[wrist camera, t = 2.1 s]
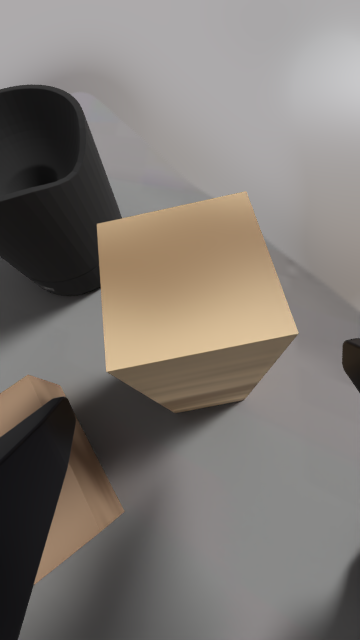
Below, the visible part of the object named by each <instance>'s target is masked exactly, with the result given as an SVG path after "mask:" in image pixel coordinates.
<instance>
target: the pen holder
mask: <svg viewBox="0 0 360 640" xmlns="http://www.w3.org/2000/svg"><path fill="white" fill-rule="evenodd" d="M117 219H122V217H121V214H120V211H119V208H118V205H117V203H116V200H115V197H114V194H113V192H112V189H111V186H110V183H109V181H108V178H107V175H106V173H105V170H104V167H103V164H102V162H101V159H100V156H99V153H98V151H97V148H96V145H95V142H94V140H93V137H92V134H91V132H90V129H89V126H88V123H87V121H86V118H85V115H84V113H83V110H82V108H81V106H80V104H79V103H78V101H77V100H76V99H75V98H74V97H73V96H71V95H70V94H69V93H67V92H65V91H63V90H61V89H58V88H55V87H51V86H45V85H20V86H14V87H9V88H4V89H1V90H0V256H1V257H2V258H3V259H5V260H6V261H7V262H8V263H10V264H11V265H12V266H13V267H15V268H16V269H17V270H19V271H20V272H21V273H23V274H24V275H26V276H27V277H28V278H29V279H31V280H32V281H34V282H35V283H36V284H38V285H39V286H40V287H42V288H43V289H45V290H47V291H49V292H52V293H55V294H59V295H78V294H83V293H86V292H89V291H92V290H94V289H96V288H98V287H100V286H101V282H100V267H99V252H98V237H97V224H99V223H103V222H108V221H113V220H117Z"/></svg>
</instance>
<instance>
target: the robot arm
mask: <svg viewBox="0 0 360 640" xmlns="http://www.w3.org/2000/svg"><path fill="white" fill-rule="evenodd" d="M342 365H343V368H344V370H345V372H346V374H347V375H348V376H349V378H350V379H351V381H352V382H353V384H354V385H355V387H356V388H357V390H358V391H359V392H360V338H355V339H350V340H346V341H345V342H344V343H343V353H342ZM75 425H76V417H75V414H74V412H73V410H72V407H71V405H70V403H69V400H68V399H67V398H66V397H64V396H63V397H57V398H53V399H51V400H50V401H48V402H47V403H46V404H44V405H43V406H42V407H40V408H39V409H38V410H36V411H35V412H34V413H32V414H31V415H30V416H28V417H27V418H25V419H24V420H23V421H21V422H20V423H19V424H17V425H16V426H15V427H13V428H12V429H11V430H9V431H8V432H7V433H5V434H4V435H3V436H1V437H0V640H18V637H19V633H20V630H21V626H22V623H23V620H24V616H25V613H26V609H27V606H28V602H29V599H30V596H31V592H32V589H33V585H34V582H35V578H36V575H37V572H38V568H39V565H40V561H41V558H42V554H43V551H44V548H45V544H46V541H47V537H48V534H49V530H50V527H51V524H52V520H53V517H54V513H55V510H56V506H57V503H58V499H59V496H60V493H61V489H62V486H63V482H64V479H65V475H66V472H67V468H68V463H69V458H70V453H71V447H72V442H73V436H74V431H75Z"/></svg>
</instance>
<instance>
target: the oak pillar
mask: <svg viewBox="0 0 360 640" xmlns="http://www.w3.org/2000/svg"><path fill="white" fill-rule="evenodd" d="M97 237H98V252H99V267H100V282H101V298H102V313H103V328H104V343H105V358H106V372H108V373H109V374H111V375H113V376H114V377H116V378H118V379H119V380H121V381H123V382H124V383H126V384H127V385H129V386H131V387H132V388H134V389H136V390H137V391H139V392H141V393H142V394H144V395H146V396H147V397H149V398H151V399H152V400H154V401H156V402H157V403H159V404H161V405H162V406H164V407H165V408H167V409H169V410H170V411H172V412H174V413H179V412H184V411H190V410H195V409H200V408H205V407H210V406H216V405H221V404H226V403H231V402H237V401H242V400H245V398H246V397H247V396H248V395H249V393H250V392H251V391H252V390H253V389H254V387H255V386H256V385H257V384H258V382H259V381H260V380H261V379H262V378H263V376H264V375H265V374H266V373H267V371H268V370H269V369H270V368H271V367H272V365H273V364H274V363H275V362H276V360H277V359H278V358H279V357H280V356H281V354H282V353H283V352H284V351H285V349H286V348H287V347H288V346H289V345H290V343H291V342H292V341H293V340H294V339H295V337H296V336H297V335H298V334H299V333H298V330H297V328H296V325H295V322H294V320H293V317H292V314H291V311H290V309H289V306H288V303H287V301H286V298H285V295H284V292H283V290H282V287H281V284H280V281H279V279H278V276H277V273H276V271H275V268H274V265H273V262H272V260H271V257H270V254H269V252H268V249H267V246H266V243H265V241H264V238H263V235H262V233H261V230H260V227H259V225H258V222H257V219H256V216H255V214H254V211H253V208H252V206H251V203H250V200H249V197H248V195H247V192H241V193H236V194H231V195H227V196H222V197H218V198H213V199H209V200H204V201H199V202H195V203H190V204H186V205H181V206H177V207H172V208H167V209H163V210H158V211H154V212H149V213H145V214H140V215H135V216H131V217H126V218H122V219H117V220H113V221H108V222H103V223H99V224H97Z"/></svg>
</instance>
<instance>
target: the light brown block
mask: <svg viewBox="0 0 360 640" xmlns="http://www.w3.org/2000/svg"><path fill="white" fill-rule="evenodd" d="M63 396H64V397H66V396H65V394H64V392H63V390H62V388H61V386H60V385H57V384H54V383H51V382H48V381H45V380H42V379H39V378H36V377H33V376H30V375H27V376H25V377H24V378H22V379H21V380H19V381H18V382H17V383H15V384H14V385H12V386H11V387H9V388H8V389H6V390H5V391H3V392H2V393H0V437H1V436H3V435H4V434H5V433H7V432H8V431H9V430H11V429H12V428H13V427H15V426H16V425H17V424H19V423H20V422H21V421H23V420H24V419H25V418H27V417H28V416H30V415H31V414H32V413H34V412H35V411H36V410H38V409H39V408H40V407H42V406H43V405H44V404H46V403H47V402H48V401H50V400H51V399H53V398H57V397H63ZM75 417H76V416H75ZM122 513H124V510H123V508H122V506H121V504H120V502H119V500H118V498H117V496H116V494H115V492H114V490H113V488H112V486H111V484H110V482H109V480H108V478H107V476H106V474H105V472H104V470H103V468H102V467H101V465H100V463H99V461H98V459H97V457H96V455H95V453H94V451H93V449H92V447H91V445H90V443H89V441H88V439H87V437H86V435H85V433H84V431H83V429H82V427H81V425H80V423H79V421H78V420H77V418H76V425H75V431H74V436H73V442H72V447H71V453H70V458H69V463H68V468H67V472H66V475H65V479H64V482H63V486H62V489H61V493H60V496H59V499H58V503H57V506H56V510H55V513H54V517H53V520H52V524H51V527H50V530H49V534H48V537H47V541H46V544H45V548H44V551H43V554H42V558H41V561H40V565H39V568H38V572H37V575H36V578H35V582H34V585H35V584H36V583H37V582H38V581H40V580H41V579H42V578H43V577H45V576H46V575H47V574H48V573H50V572H51V571H52V570H53V569H55V568H56V567H57V566H58V565H60V564H61V563H62V562H63V561H65V560H66V559H67V558H68V557H70V556H71V555H72V554H73V553H75V552H76V551H77V550H78V549H80V548H81V547H82V546H83V545H85V544H86V543H87V542H88V541H90V540H91V539H92V538H93V537H95V536H96V535H97V534H98V533H100V532H101V531H102V530H103V529H105V528H106V527H107V526H108V525H109V524H110V523H112V522H113V521H114V520H115V519H116V518H118V517H119V516H120V515H121V514H122Z"/></svg>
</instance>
